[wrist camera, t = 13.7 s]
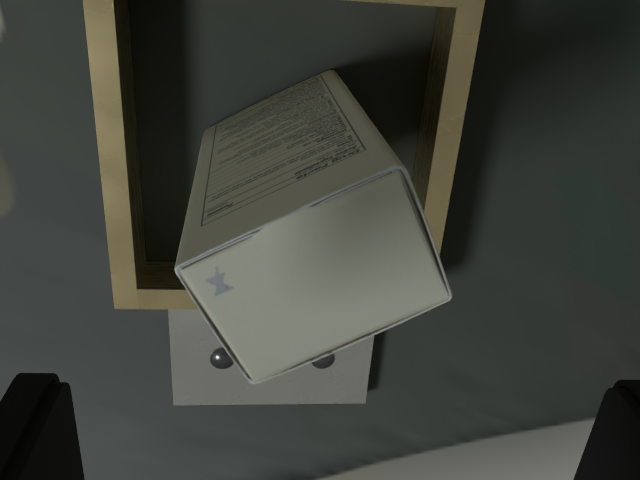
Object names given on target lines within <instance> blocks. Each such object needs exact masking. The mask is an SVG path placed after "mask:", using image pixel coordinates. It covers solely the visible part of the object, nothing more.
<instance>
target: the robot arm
mask: <svg viewBox="0 0 640 480" xmlns="http://www.w3.org/2000/svg"><path fill="white" fill-rule="evenodd" d="M0 480H84V473H83V467H82V460H81V454H80V447H79V441H78V434H77V428H76V421H75V415H74V408H73V402H72V395H71V389H70V385H69V384H68V383H66V382H60V381H59V377H58V376H57V374H54V373H19V374H18V375H16V377H15V378H14V379H13V381H12V383H11V384H10V386H9V388H8V389H7V391H6V393H5V395H4V396H3V398H2V400H1V401H0ZM574 480H640V380H619V381H617V382H616V383H615V385H614V386H613V388H609V389H608V390H607V391H606V393H605V395H604V397H603V400H602V403H601V406H600V408H599V411H598V414H597V417H596V419H595V422H594V425H593V428H592V431H591V433H590V436H589V439H588V441H587V444H586V447H585V450H584V452H583V455H582V458H581V461H580V463H579V466H578V469H577V472H576V474H575V477H574Z"/></svg>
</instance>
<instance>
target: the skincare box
mask: <svg viewBox="0 0 640 480" xmlns="http://www.w3.org/2000/svg"><path fill="white" fill-rule="evenodd" d="M174 270H175V273H176V275H177V276H178V278H179V279H180V281H181V282H182V284H183V285H184V286H185V288H186V290H187V292H188V293H189V295H190V297H191V298H192V300H193V301H194V303H195V304H196V306H197V307H198V309H199V311H200V312H201V314H202V316H203V317H204V319H205V320H206V322H207V323H208V325H209V326H210V328H211V329H212V331H213V332H214V334H215V335H216V337H217V338H218V340H219V341H220V343H221V344H222V346H223V347H224V349H225V350H226V352H227V353H228V355H229V356H230V357H231V359H232V360H233V362H234V363H235V364H236V366H237V367H238V368H239V369H240V371H241V372H242V374H243V375H244V376H245V378H246V379H247V380H248V381H249V383H250V384H258V383H261V382H264V381H266V380H268V379H271V378H275V377H277V376H279V375H282V374H284V373H287V372H290V371H293V370H295V369H297V368H300V367H302V366H305V365H307V364H309V363H312V362H315V361H317V360H319V359H321V358H324V357H326V356H329V355H331V354H333V353H335V352H337V351H340V350H342V349H345V348H347V347H349V346H352V345H354V344H356V343H358V342H360V341H363V340H365V339H367V338H369V337H372V336H374V335H376V334H379V333H381V332H383V331H385V330H387V329H389V328H392V327H394V326H396V325H399V324H401V323H403V322H405V321H407V320H409V319H411V318H413V317H416V316H418V315H420V314H422V313H424V312H426V311H428V310H430V309H432V308H435V307H437V306H439V305H441V304H443V303H446V302H448V301H450V300H451V299H452V291H451V288H450V286H449V283H448V280H447V277H446V274H445V271H444V268H443V265H442V262H441V259H440V256H439V253H438V250H437V247H436V244H435V241H434V238H433V236H432V233H431V230H430V228H429V225H428V222H427V219H426V217H425V214H424V211H423V208H422V206H421V203H420V201H419V198H418V196H417V193H416V191H415V188H414V186H413V183H412V180H411V178H410V175H409V173H408V170H407V169H406V168H405V166H404V165H403V164H402V162H401V161H400V160H399V158H398V157H397V156H396V154H395V153H394V151H393V150H392V149H391V147H390V146H389V145H388V143H387V142H386V140H385V139H384V138H383V136H382V135H381V134H380V132H379V131H378V129H377V128H376V127H375V125H374V124H373V123H372V121H371V120H370V118H369V117H368V116H367V114H366V113H365V111H364V110H363V108H362V107H361V106H360V104H359V103H358V102H357V100H356V99H355V98H354V96H353V95H352V93H351V92H350V90H349V89H348V87H347V86H346V85H345V84H344V82H343V81H342V80H341V78H340V77H339V75H338V74H337V73H336V72H335V71H334V70H328V71H326V72H323V73H321V74H319V75H316V76H314V77H312V78H310V79H307V80H305V81H303V82H301V83H298V84H296V85H294V86H292V87H290V88H288V89H285V90H283V91H281V92H279V93H277V94H275V95H273V96H271V97H269V98H267V99H265V100H263V101H261V102H258V103H256V104H254V105H252V106H250V107H248V108H246V109H244V110H242V111H240V112H238V113H236V114H234V115H233V116H231V117H229V118H227V119H225V120H223V121H221V122H219V123H217V124H216V125H214V126H212V127H210V128H208V129H206V130H205V131H204V134H203V139H202V144H201V149H200V153H199V158H198V162H197V168H196V172H195V176H194V181H193V186H192V190H191V195H190V199H189V204H188V209H187V213H186V217H185V223H184V227H183V232H182V237H181V241H180V245H179V250H178V254H177V259H176V263H175V269H174Z"/></svg>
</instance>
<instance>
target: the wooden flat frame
mask: <svg viewBox="0 0 640 480" xmlns="http://www.w3.org/2000/svg"><path fill="white" fill-rule="evenodd" d="M347 1H363V2H378V3H394V4H409V5H424V6H438V7H437V14H436V20H435V27H434V34H433V41H432V48H431V55H430V61H429V68H428V75H427V82H426V89H425V96H424V102H423V109H422V116H421V123H420V130H419V137H418V144H417V150H416V157H415V164H414V171H413V178H412V183H413V186H414V188H415V191H416V193H417V196H418V198H419V201H420V203H421V206H422V208H423V211H424V214H425V217H426V219H427V222H428V225H429V228H430V230H431V233H432V236H433V238H434V241H435V244H436V247H437V250H438V253H439V256H440V250H441V245H442V239H443V234H444V228H445V223H446V217H447V211H448V206H449V200H450V195H451V189H452V183H453V178H454V172H455V167H456V161H457V155H458V150H459V144H460V139H461V133H462V128H463V122H464V116H465V111H466V105H467V100H468V94H469V88H470V83H471V77H472V72H473V66H474V60H475V55H476V49H477V44H478V38H479V33H480V27H481V21H482V16H483V10H484V5H485V0H347ZM83 6H84V15H85V25H86V35H87V45H88V55H89V64H90V74H91V84H92V94H93V103H94V113H95V123H96V133H97V142H98V152H99V162H100V172H101V181H102V191H103V201H104V211H105V221H106V230H107V240H108V250H109V260H110V269H111V279H112V289H113V299H114V308H115V309H168V313H169V331H170V350H171V368H172V386H173V405H245V404H342V403H365V402H366V394H367V387H368V379H369V371H370V364H371V356H372V349H373V341H374V336H372V337H369V338H367V339H365V340H363V341H360V342H358V343H356V344H354V345H352V346H349V347H347V348H345V349H342V350H340V351H337V352H335V353H333V354H331V355H329V356H326V357H324V358H321V359H319V360H317V361H315V362H312V363H309V364H307V365H305V366H302V367H300V368H297V369H295V370H293V371H290V372H287V373H284V374H282V375H279V376H277V377H275V378H271V379H268V380H266V381H264V382H261V383H258V384H250V383H249V381H248V380H247V379H246V378H245V376H244V375H243V374H242V372H241V371H240V369H239V368H238V367H237V366H236V364H235V363H234V362H233V360H232V359H231V357H230V356H229V355H228V353H227V352H226V350H225V349H224V347H223V346H222V344H221V343H220V341H219V340H218V338H217V337H216V335H215V334H214V332H213V331H212V329H211V328H210V326H209V325H208V323H207V322H206V320H205V319H204V317H203V316H202V314H201V312H200V311H199V309H198V307H197V306H196V304H195V303H194V301H193V300H192V298H191V297H190V295H189V293H188V292H187V290H186V288H185V286H184V285H183V284H182V282H181V281H180V279H179V278H178V276H177V275H176V273H175V270H174V269H175V263H176V262H175V261H146V247H145V233H144V218H143V204H142V190H141V176H140V162H139V148H138V134H137V120H136V106H135V91H134V77H133V63H132V49H131V35H130V21H129V7H128V0H83ZM428 311H430V310H428Z"/></svg>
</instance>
